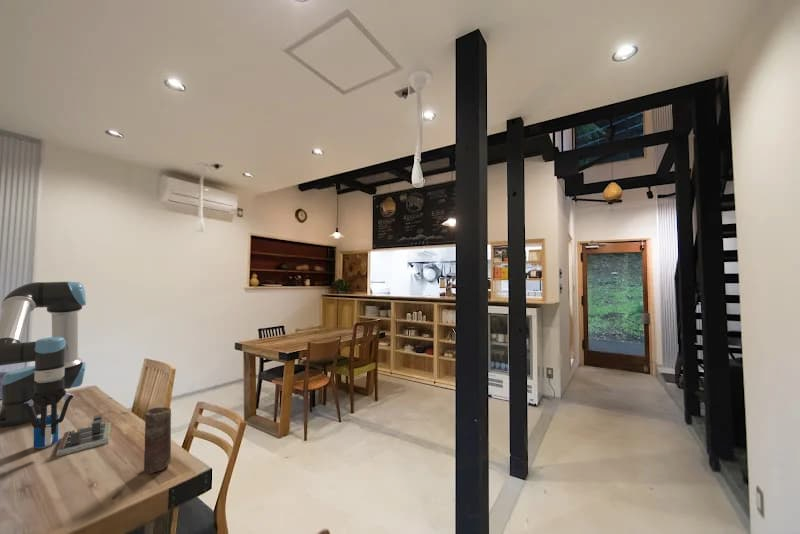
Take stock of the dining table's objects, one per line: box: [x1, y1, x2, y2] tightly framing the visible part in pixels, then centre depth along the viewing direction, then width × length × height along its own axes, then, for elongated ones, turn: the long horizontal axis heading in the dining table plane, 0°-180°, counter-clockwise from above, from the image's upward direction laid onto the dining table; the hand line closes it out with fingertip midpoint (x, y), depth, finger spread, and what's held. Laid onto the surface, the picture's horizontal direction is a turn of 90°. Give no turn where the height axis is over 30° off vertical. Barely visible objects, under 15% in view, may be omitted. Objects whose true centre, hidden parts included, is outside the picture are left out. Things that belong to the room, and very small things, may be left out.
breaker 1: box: [93, 414, 103, 426], centre depth 134 cm, size 4×2×4 cm, turn 40°
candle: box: [143, 406, 172, 475], centre depth 110 cm, size 8×7×20 cm
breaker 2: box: [91, 419, 101, 434], centre depth 130 cm, size 4×2×4 cm, turn 40°
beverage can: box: [33, 411, 60, 449], centre depth 124 cm, size 6×6×12 cm
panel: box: [56, 421, 112, 457], centre depth 128 cm, size 18×14×2 cm
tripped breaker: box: [70, 428, 82, 445], centre depth 122 cm, size 4×2×4 cm, turn 40°
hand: (48, 443), depth 117 cm, fingers closed
